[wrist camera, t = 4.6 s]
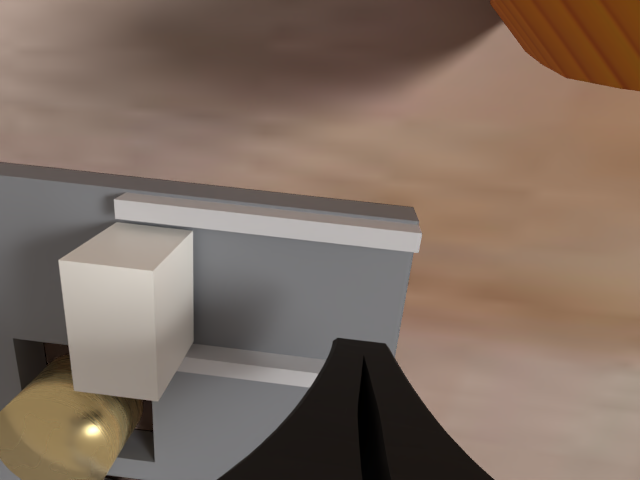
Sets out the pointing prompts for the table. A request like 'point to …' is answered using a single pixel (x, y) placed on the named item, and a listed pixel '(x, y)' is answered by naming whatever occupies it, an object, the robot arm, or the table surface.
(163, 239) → the white block
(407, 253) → the control panel
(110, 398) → the brass button
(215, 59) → the table surface
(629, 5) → the carrot
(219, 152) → the table surface
